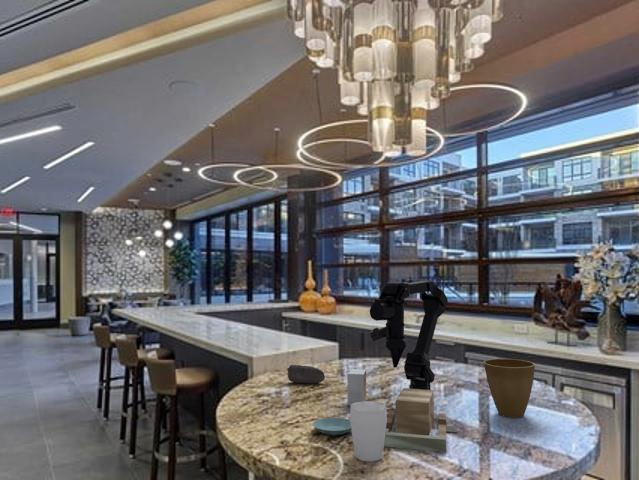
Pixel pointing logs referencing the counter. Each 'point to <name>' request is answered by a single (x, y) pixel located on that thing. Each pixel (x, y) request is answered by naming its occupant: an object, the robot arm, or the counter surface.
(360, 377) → the small box
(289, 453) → the counter surface
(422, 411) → the walnut block
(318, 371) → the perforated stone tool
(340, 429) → the saucer
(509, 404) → the plant pot
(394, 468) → the counter surface
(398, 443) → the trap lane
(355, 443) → the cup
